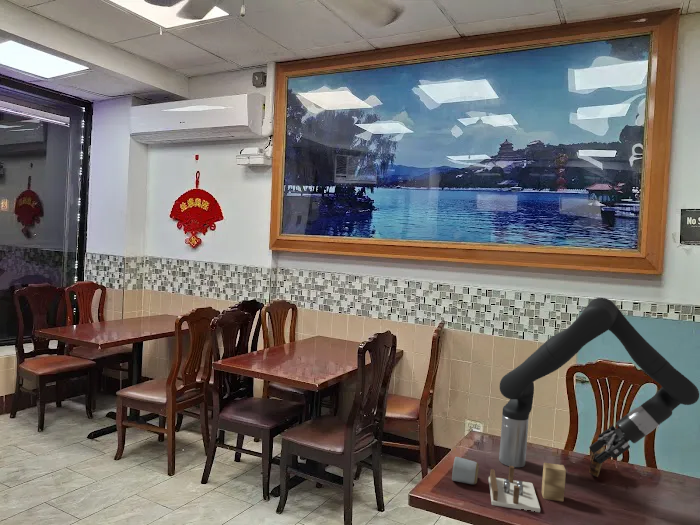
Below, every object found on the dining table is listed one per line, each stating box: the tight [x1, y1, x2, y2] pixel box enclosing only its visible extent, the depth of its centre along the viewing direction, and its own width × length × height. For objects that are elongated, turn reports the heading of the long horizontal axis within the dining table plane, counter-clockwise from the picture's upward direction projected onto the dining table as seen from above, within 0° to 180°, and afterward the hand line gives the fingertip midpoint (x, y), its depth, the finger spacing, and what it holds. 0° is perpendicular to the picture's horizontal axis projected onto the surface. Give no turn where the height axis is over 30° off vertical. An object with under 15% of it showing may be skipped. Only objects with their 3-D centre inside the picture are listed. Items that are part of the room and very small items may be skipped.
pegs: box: [503, 478, 523, 496], centre depth 164 cm, size 6×4×3 cm
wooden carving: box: [588, 446, 606, 478], centre depth 183 cm, size 16×5×10 cm, turn 152°
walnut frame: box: [489, 466, 519, 504], centre depth 164 cm, size 7×16×5 cm, turn 168°
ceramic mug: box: [451, 456, 480, 485], centre depth 173 cm, size 11×8×8 cm
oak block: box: [541, 462, 567, 502], centre depth 164 cm, size 6×4×10 cm, turn 78°
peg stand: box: [488, 476, 541, 513], centre depth 164 cm, size 14×17×1 cm
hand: (594, 455), depth 161 cm, fingers open, 8 cm apart
